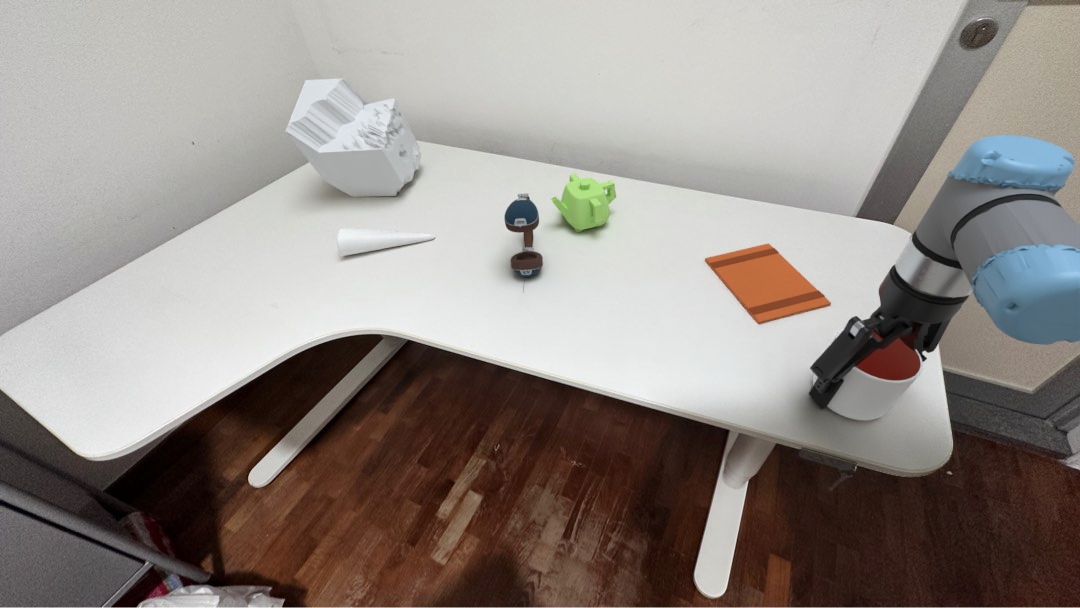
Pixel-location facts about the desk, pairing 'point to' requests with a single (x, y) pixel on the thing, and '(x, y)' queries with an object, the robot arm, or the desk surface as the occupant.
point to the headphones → (524, 220)
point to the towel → (766, 283)
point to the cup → (876, 381)
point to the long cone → (375, 240)
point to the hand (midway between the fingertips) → (849, 391)
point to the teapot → (585, 202)
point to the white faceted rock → (353, 139)
